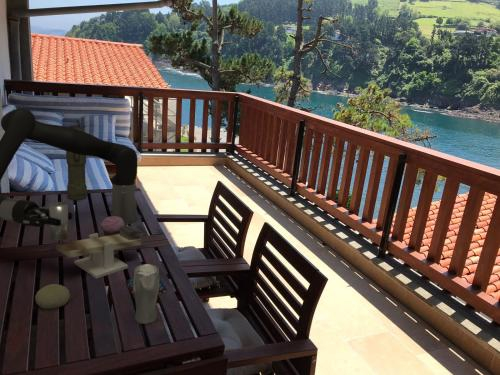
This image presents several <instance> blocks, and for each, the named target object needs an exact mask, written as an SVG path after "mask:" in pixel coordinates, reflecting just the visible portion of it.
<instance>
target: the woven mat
mask: <svg viewBox="0 0 500 375" xmlns="http://www.w3.org/2000/svg"><path fill="white" fill-rule="evenodd" d="M133 280H134V278H133V279H127V280H126V282H125V284H126V287H127V288H128V290H129V291H130V294H131V295H132V297H133V298H134V299H135V296H134V289H133ZM166 291H167V288H166V286H165V284H164V283H163V281H161V279H160V278H159V292H158V294H159V295H161V294H162V293H164V294H165V293H166Z"/></svg>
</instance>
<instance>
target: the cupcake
mask: <svg viewBox="0 0 500 375" xmlns="http://www.w3.org/2000/svg"><path fill="white" fill-rule="evenodd" d="M125 226H126V224H124V221H123V219H122V218H120V217H118V216H106V217H105V218H104V219H103V220H102V221H101V222H100V229H101V231H103V232H102V233H103V236H110V235H117V234H120V227H125Z"/></svg>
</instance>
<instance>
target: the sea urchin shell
mask: <svg viewBox="0 0 500 375" xmlns="http://www.w3.org/2000/svg"><path fill="white" fill-rule="evenodd" d="M70 296H71V294H70V290H69V289H68V287H66V286H65V285H61V284H58V283H52V284H51V283H50V284H48V285H45V286H43V287H42V288H41V289H39V290H38V291H37V292H36V294H35V297H34V298H35V299H34V300H35V303H36V304H37V305H38V306H39V307H40V308H42V309H45V310H47V309H48V310H49V309H50V310H52V309H58V308H60V307H63V306H64V305H66V303H68V301H69V300H70Z"/></svg>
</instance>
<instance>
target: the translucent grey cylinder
mask: <svg viewBox="0 0 500 375" xmlns="http://www.w3.org/2000/svg"><path fill="white" fill-rule="evenodd" d="M48 208H49V218H50V217H52V218H57V219H60V220H61V225H60V226H54V225H49V239H50V240H52V241H56V242H58V241H59V242H60V241H65V240H67V239H69V238H70V237H69V232H70V231H69V219H68V212H69V204H68V203H67V202H63V201H55V202H51V203H49V204H48Z"/></svg>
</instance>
